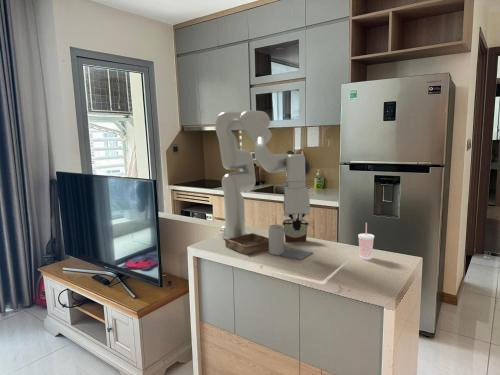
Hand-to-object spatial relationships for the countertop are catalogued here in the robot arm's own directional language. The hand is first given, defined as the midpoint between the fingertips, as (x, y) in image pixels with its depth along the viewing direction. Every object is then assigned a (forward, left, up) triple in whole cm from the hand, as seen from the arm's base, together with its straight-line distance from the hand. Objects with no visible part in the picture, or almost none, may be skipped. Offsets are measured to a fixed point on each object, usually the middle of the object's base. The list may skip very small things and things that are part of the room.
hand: (296, 229), depth 145 cm
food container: (-10, +18, -11) cm, 23 cm away
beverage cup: (+25, +11, -11) cm, 29 cm away
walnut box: (-23, -1, -11) cm, 25 cm away
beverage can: (-8, -2, -11) cm, 14 cm away
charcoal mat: (0, 0, -11) cm, 11 cm away
